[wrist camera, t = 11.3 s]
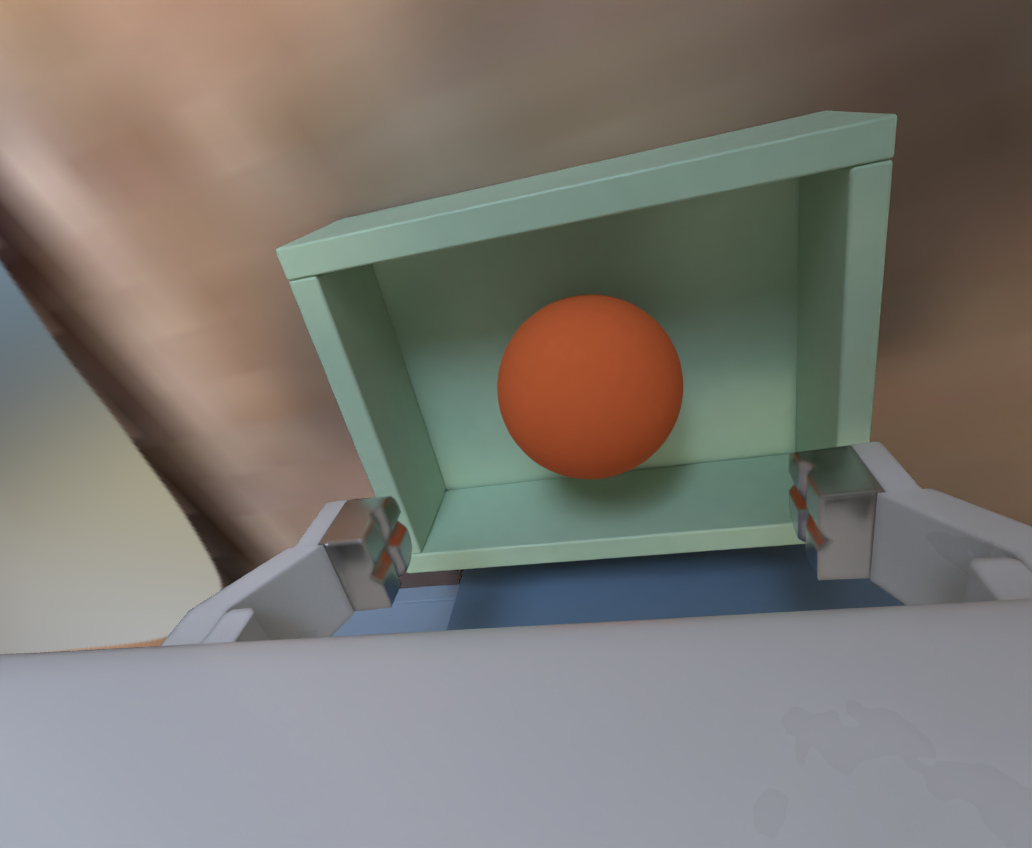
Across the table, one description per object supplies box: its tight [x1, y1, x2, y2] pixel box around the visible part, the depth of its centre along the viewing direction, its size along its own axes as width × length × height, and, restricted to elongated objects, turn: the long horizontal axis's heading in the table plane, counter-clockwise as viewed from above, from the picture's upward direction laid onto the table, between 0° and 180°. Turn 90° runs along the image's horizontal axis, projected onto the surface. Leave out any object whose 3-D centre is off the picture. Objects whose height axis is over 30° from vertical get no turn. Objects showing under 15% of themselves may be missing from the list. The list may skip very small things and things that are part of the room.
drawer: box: [331, 584, 460, 637], centre depth 23 cm, size 18×10×6 cm, turn 102°
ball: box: [497, 294, 683, 479], centre depth 16 cm, size 5×5×5 cm
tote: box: [276, 111, 897, 573], centre depth 17 cm, size 11×14×4 cm
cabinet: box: [446, 544, 905, 630], centre depth 20 cm, size 14×12×8 cm
